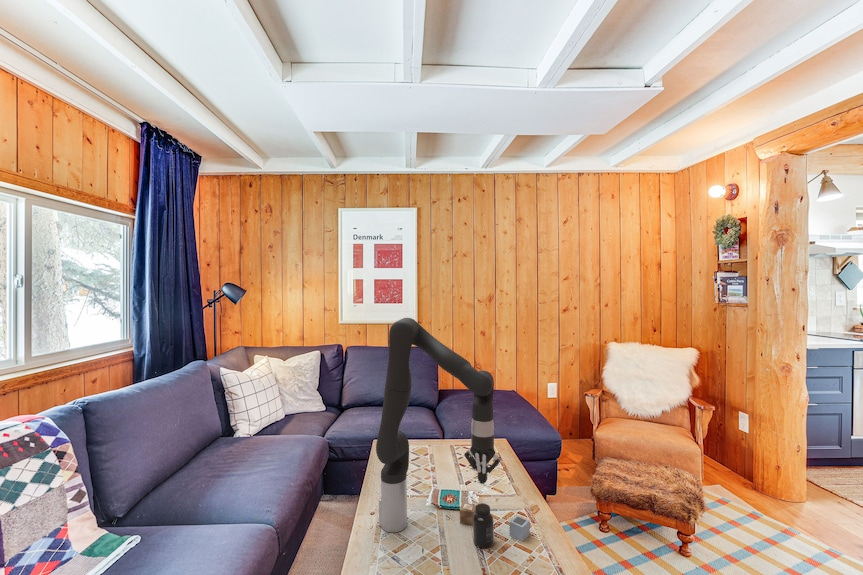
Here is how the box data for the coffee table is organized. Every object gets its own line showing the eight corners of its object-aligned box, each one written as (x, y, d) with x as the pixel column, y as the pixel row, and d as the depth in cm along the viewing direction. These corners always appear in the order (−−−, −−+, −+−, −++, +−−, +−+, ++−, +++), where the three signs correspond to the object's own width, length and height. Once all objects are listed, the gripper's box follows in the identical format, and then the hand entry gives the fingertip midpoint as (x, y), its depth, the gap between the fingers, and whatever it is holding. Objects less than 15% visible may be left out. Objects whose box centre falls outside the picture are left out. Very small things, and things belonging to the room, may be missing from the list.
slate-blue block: (509, 535, 137) (509, 520, 137) (516, 528, 141) (516, 514, 141) (522, 542, 134) (522, 526, 134) (529, 534, 137) (529, 519, 137)
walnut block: (460, 523, 144) (459, 509, 144) (462, 515, 149) (462, 501, 149) (473, 525, 143) (473, 511, 143) (476, 517, 148) (476, 503, 147)
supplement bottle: (491, 535, 137) (491, 501, 137) (495, 548, 130) (495, 512, 130) (471, 536, 137) (471, 501, 137) (474, 549, 130) (474, 513, 130)
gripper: (460, 432, 133) (460, 483, 134) (498, 439, 127) (498, 492, 128) (468, 424, 140) (468, 473, 140) (505, 431, 134) (505, 481, 134)
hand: (482, 482), depth 134 cm, fingers closed
